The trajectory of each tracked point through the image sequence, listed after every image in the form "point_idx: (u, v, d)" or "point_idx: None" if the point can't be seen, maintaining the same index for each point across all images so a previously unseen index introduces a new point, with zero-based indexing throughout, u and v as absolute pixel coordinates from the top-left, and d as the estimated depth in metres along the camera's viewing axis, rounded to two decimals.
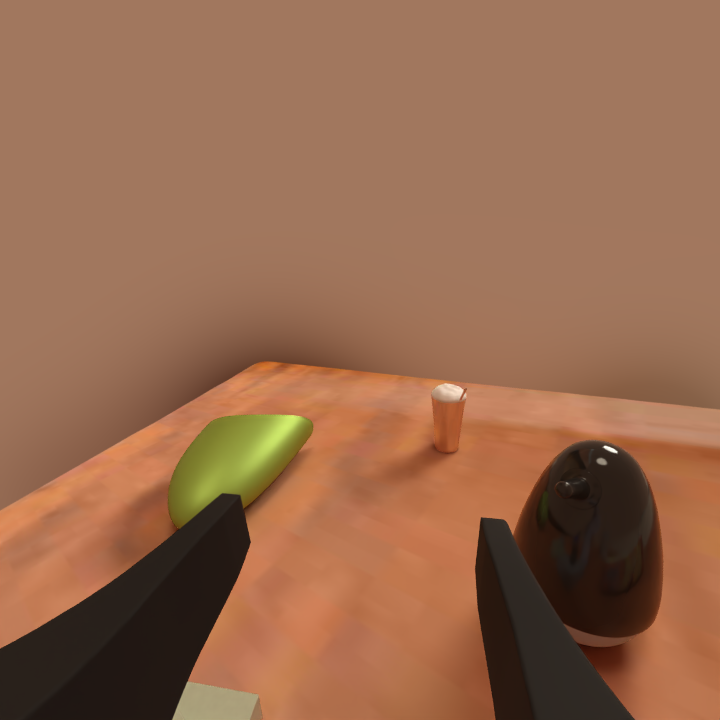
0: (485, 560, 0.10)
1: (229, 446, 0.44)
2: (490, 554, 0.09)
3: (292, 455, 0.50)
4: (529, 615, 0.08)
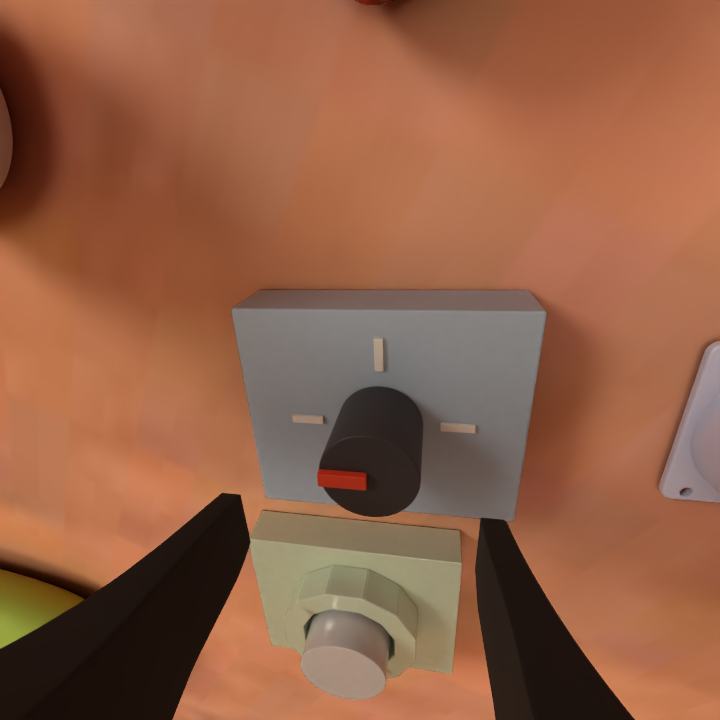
0: (485, 560, 0.10)
1: None
2: (490, 554, 0.09)
3: None
4: (529, 615, 0.08)
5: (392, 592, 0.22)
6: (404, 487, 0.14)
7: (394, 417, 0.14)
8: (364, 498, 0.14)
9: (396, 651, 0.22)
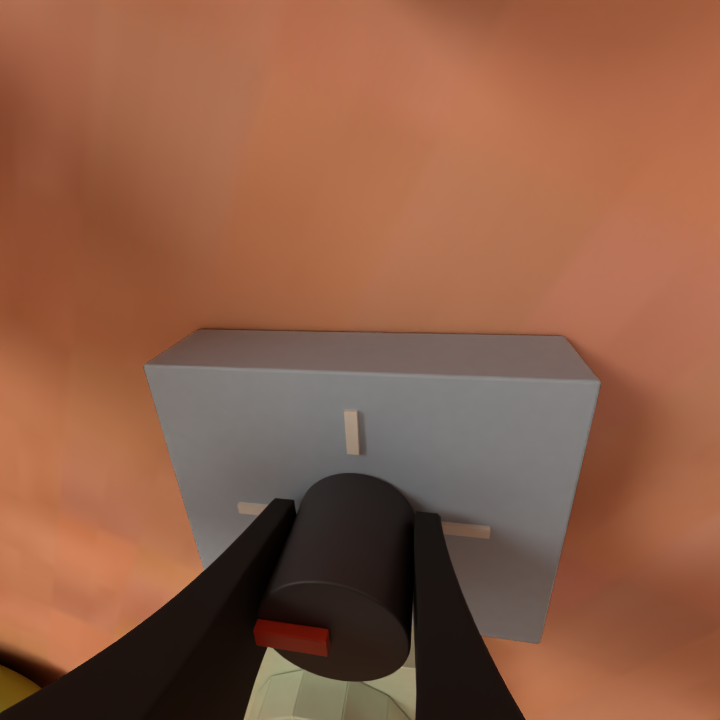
0: None
1: None
2: (414, 546, 0.10)
3: None
4: (437, 603, 0.08)
5: (379, 708, 0.17)
6: (386, 651, 0.09)
7: (371, 536, 0.10)
8: (327, 659, 0.10)
9: None
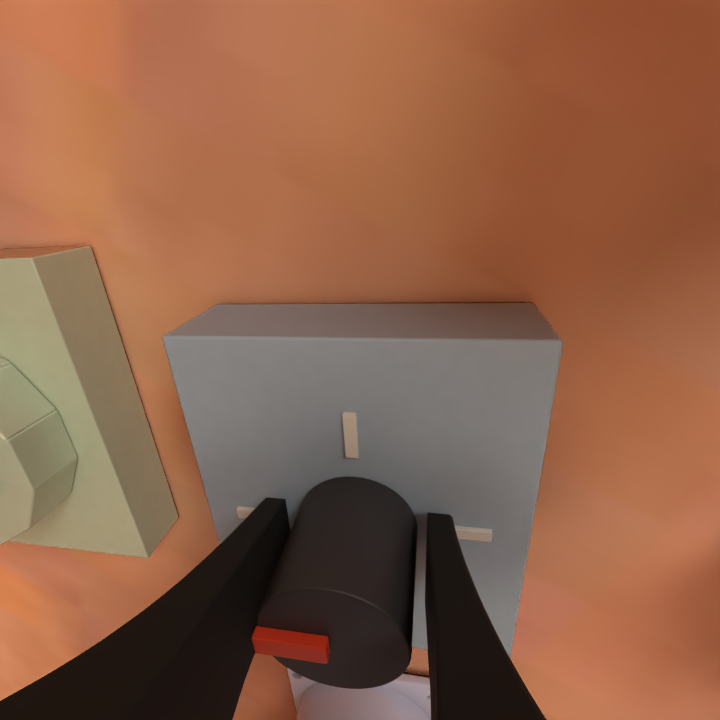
0: (427, 553, 0.10)
1: None
2: (428, 547, 0.10)
3: None
4: (454, 605, 0.08)
5: (58, 498, 0.14)
6: (386, 658, 0.09)
7: (371, 540, 0.10)
8: (327, 666, 0.09)
9: None
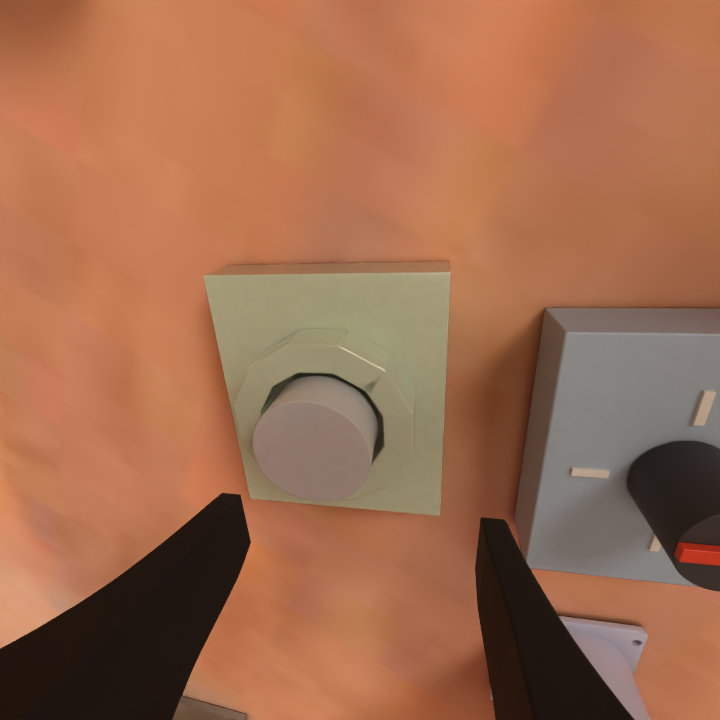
0: (485, 560, 0.10)
1: None
2: (490, 554, 0.09)
3: None
4: (529, 615, 0.08)
5: None
6: None
7: None
8: None
9: None
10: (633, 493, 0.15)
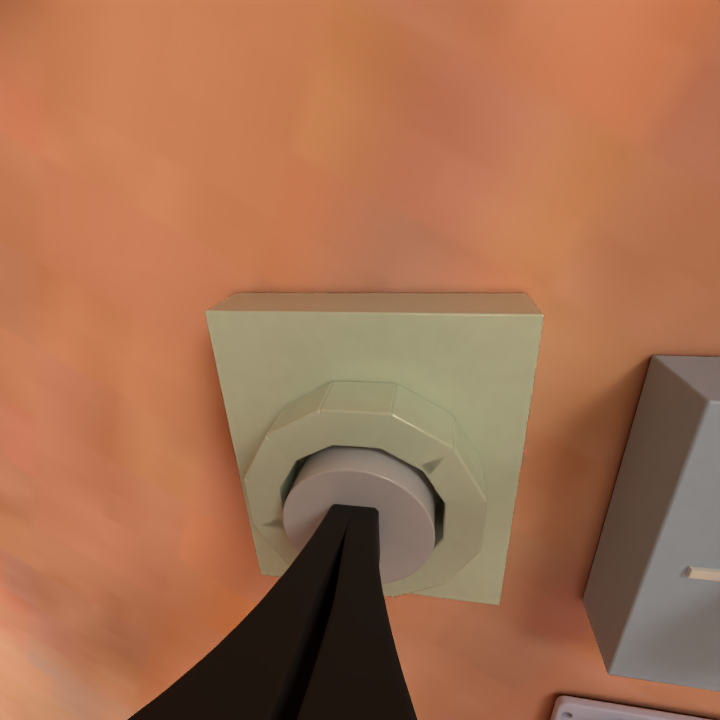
0: None
1: None
2: (344, 538, 0.10)
3: None
4: (354, 592, 0.08)
5: None
6: None
7: None
8: None
9: None
10: None
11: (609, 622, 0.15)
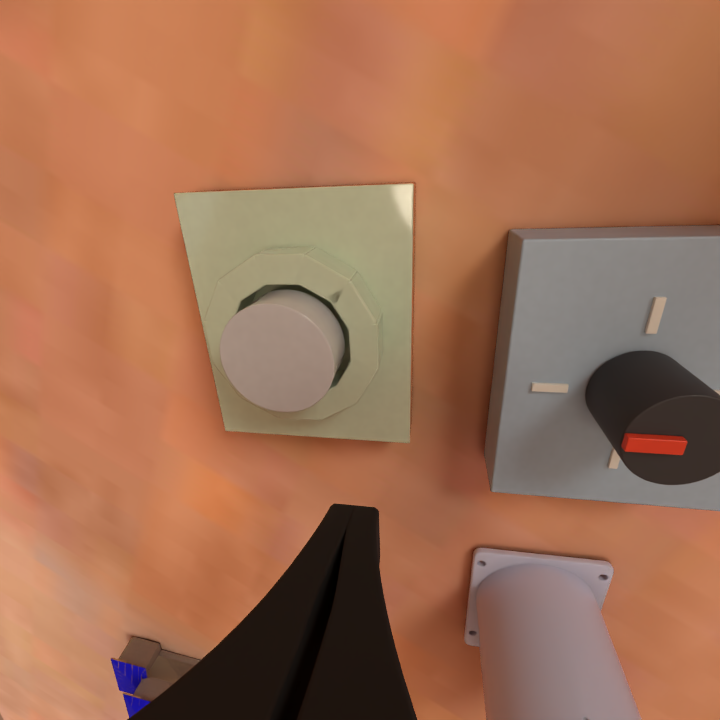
0: None
1: None
2: (344, 538, 0.10)
3: None
4: (354, 592, 0.08)
5: None
6: None
7: (697, 378, 0.14)
8: (667, 465, 0.13)
9: None
10: (590, 404, 0.16)
11: (492, 451, 0.19)
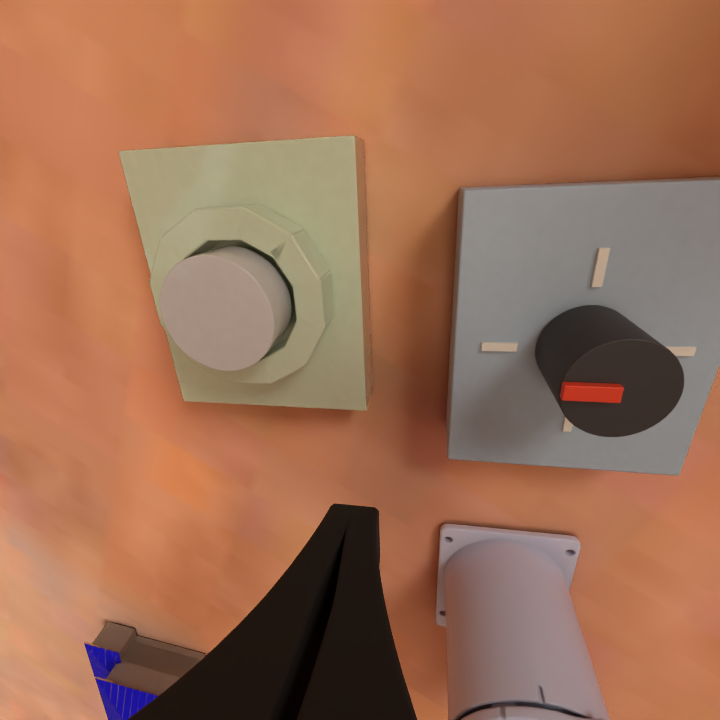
0: None
1: None
2: (344, 538, 0.10)
3: None
4: (354, 592, 0.08)
5: (316, 348, 0.18)
6: (661, 399, 0.13)
7: (637, 327, 0.13)
8: (607, 415, 0.13)
9: None
10: (538, 362, 0.16)
11: (448, 417, 0.19)
